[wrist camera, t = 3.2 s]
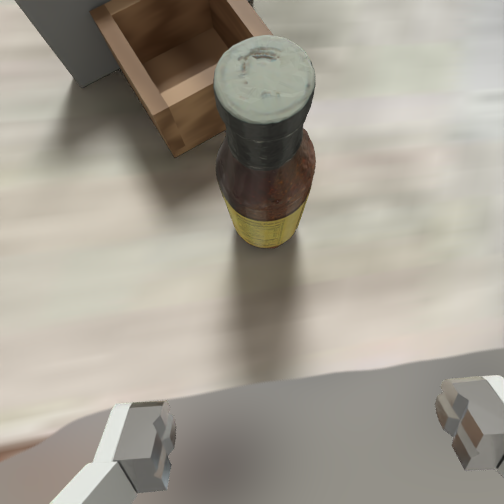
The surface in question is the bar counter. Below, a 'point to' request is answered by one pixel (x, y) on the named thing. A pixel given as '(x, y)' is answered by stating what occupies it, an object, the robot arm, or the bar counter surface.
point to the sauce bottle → (265, 137)
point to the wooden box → (176, 58)
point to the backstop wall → (73, 36)
